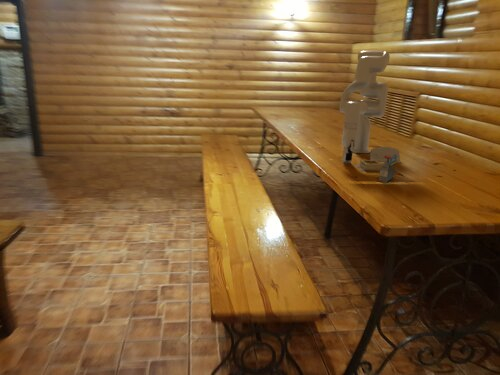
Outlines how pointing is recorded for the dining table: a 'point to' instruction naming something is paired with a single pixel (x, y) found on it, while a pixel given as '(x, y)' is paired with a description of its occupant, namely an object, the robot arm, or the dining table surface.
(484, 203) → the dining table surface
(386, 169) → the label tape box
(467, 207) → the dining table surface
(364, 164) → the square socket board
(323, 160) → the dining table surface
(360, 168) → the base board
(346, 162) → the beige cylindrical canister
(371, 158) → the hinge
